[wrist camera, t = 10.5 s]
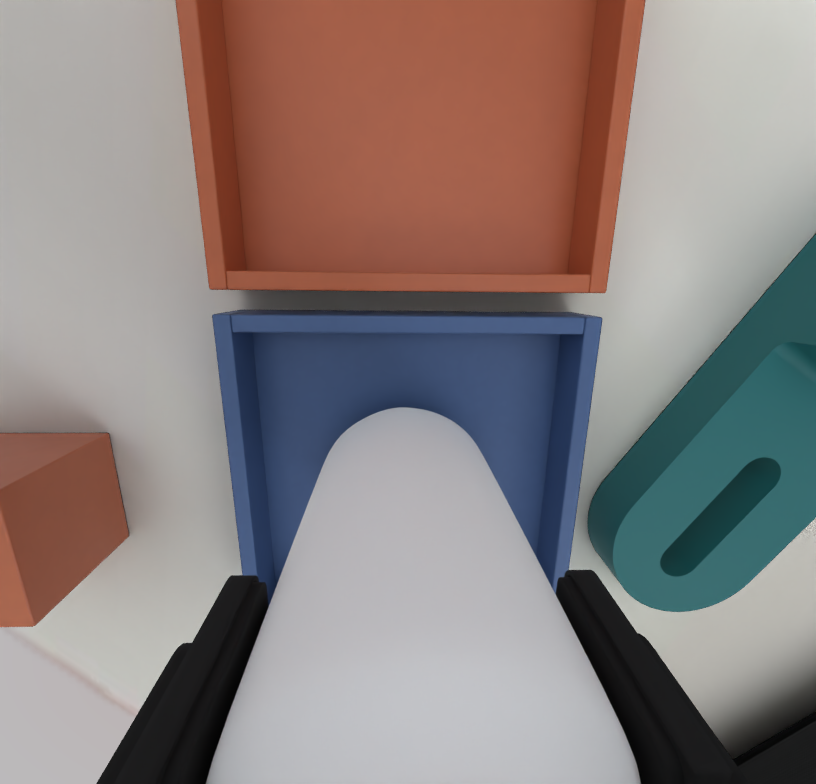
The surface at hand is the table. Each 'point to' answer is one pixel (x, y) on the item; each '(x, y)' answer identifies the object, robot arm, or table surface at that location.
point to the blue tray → (404, 387)
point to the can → (416, 634)
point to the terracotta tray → (409, 141)
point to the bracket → (721, 462)
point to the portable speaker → (783, 756)
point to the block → (54, 518)
